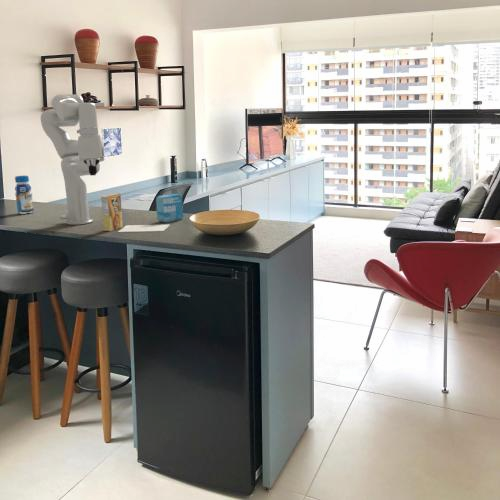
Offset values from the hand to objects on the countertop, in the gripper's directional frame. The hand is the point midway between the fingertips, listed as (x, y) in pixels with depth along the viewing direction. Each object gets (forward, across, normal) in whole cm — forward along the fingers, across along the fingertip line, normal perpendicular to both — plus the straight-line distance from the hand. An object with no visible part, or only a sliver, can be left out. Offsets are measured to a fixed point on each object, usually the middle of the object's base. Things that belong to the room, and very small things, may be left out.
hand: (93, 175), depth 257 cm
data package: (+24, +29, +19) cm, 42 cm away
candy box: (+24, +7, 0) cm, 25 cm away
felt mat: (+24, +21, 0) cm, 32 cm away
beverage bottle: (+24, -56, +53) cm, 81 cm away
